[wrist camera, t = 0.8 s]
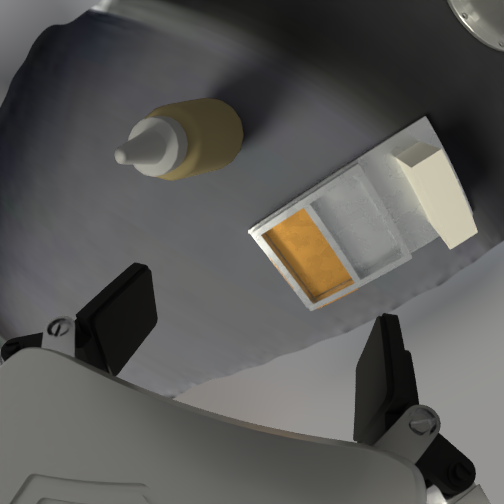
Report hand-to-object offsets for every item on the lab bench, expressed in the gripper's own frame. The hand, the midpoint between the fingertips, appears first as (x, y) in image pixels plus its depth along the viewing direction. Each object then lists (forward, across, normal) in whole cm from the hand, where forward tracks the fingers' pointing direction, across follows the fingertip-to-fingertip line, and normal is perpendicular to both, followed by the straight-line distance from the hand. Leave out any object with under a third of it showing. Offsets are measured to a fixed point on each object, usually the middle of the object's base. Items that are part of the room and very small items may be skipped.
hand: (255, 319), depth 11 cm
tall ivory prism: (+24, -14, -2) cm, 27 cm away
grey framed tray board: (+24, -7, +3) cm, 26 cm away
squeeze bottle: (+25, +11, -4) cm, 27 cm away
